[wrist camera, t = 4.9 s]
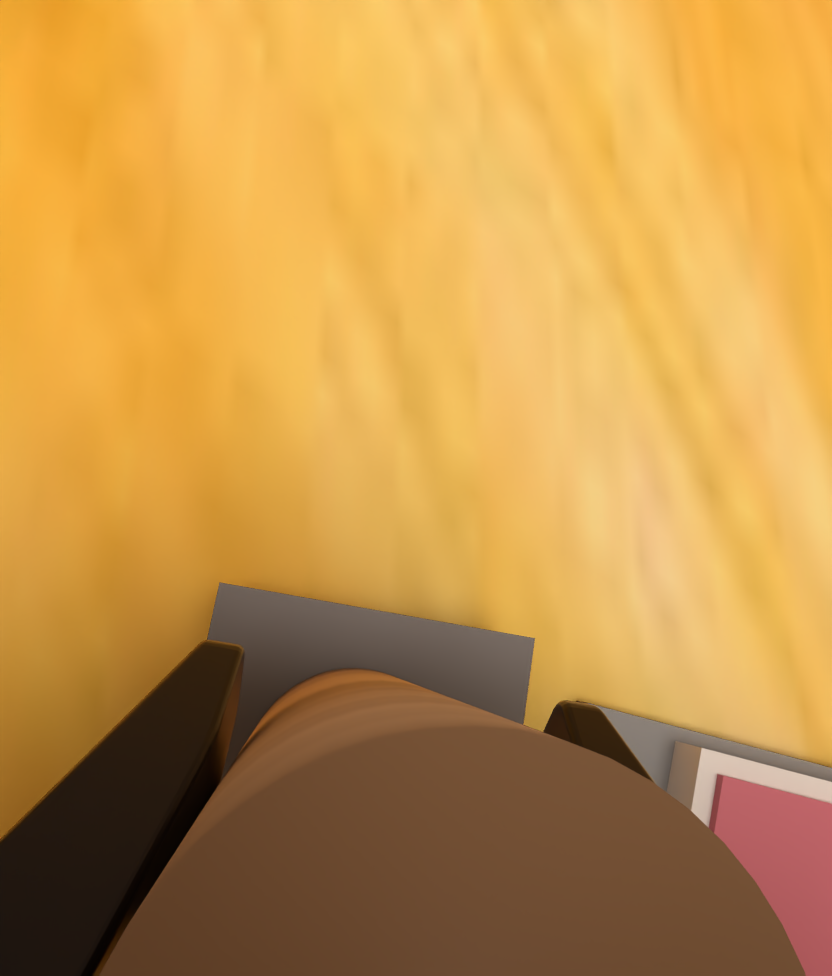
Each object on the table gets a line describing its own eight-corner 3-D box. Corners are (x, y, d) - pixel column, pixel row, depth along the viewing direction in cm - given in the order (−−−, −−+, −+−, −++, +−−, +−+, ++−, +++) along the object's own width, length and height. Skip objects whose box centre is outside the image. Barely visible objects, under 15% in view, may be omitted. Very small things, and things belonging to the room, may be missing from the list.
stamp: (457, 924, 14) (1034, 2008, 3) (172, 884, 14) (-467, 1993, 2) (498, 639, 15) (1038, 624, 4) (234, 593, 15) (-7, 425, 3)
